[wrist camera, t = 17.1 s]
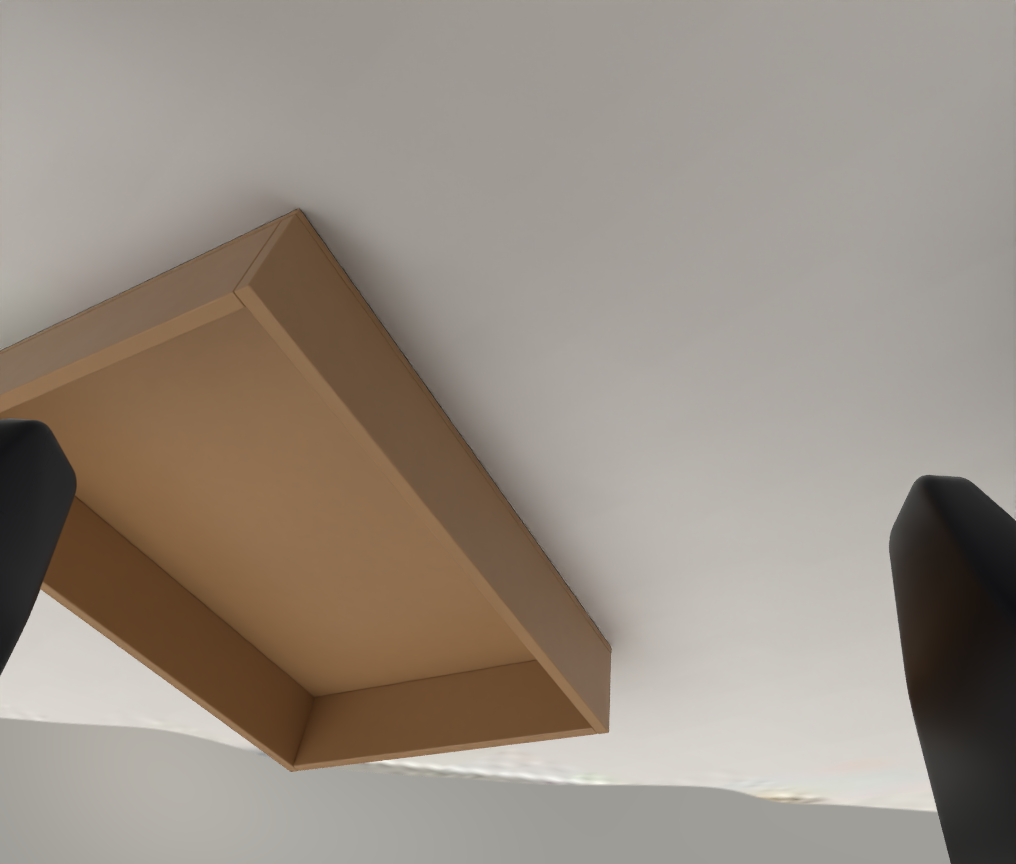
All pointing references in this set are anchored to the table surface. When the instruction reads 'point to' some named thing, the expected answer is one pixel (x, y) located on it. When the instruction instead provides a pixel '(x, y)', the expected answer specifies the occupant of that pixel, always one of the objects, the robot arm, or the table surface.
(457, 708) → the brown wooden tray
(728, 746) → the table surface
